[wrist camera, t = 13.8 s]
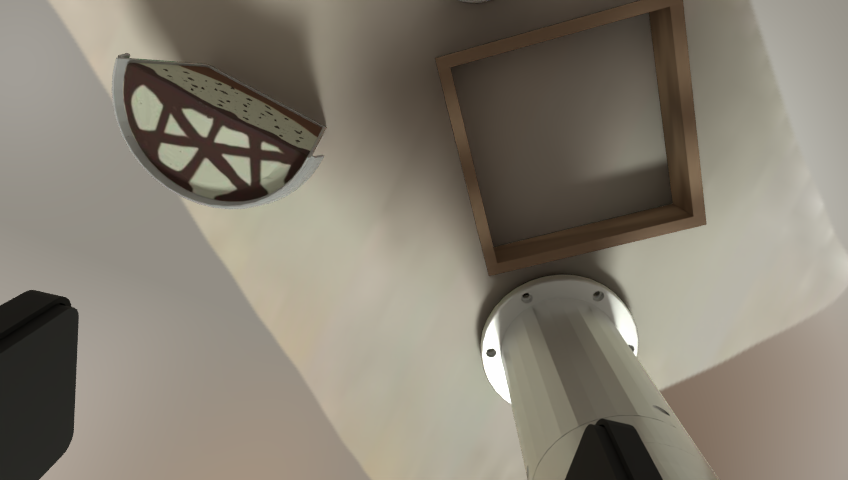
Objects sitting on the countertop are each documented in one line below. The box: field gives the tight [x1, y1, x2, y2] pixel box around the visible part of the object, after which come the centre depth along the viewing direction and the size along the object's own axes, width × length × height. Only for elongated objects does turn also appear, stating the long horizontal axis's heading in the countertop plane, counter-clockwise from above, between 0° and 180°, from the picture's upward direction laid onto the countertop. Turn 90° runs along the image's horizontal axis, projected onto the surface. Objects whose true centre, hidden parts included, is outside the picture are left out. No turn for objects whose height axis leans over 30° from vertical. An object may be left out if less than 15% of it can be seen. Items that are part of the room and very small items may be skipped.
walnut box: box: [435, 0, 706, 276], centre depth 38 cm, size 16×16×4 cm
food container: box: [112, 53, 327, 209], centre depth 35 cm, size 12×6×10 cm, turn 62°
